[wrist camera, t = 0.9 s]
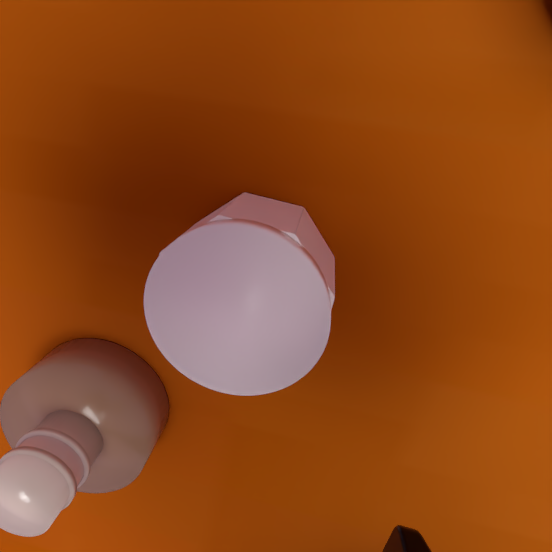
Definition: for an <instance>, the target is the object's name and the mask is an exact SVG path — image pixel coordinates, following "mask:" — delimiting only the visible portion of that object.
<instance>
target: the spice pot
mask: <svg viewBox="0 0 552 552" xmlns="http://www.w3.org/2000/svg"><path fill="white" fill-rule="evenodd" d="M168 416H169V402H168V397H167V393H166V391H165V388H164V386H163V384H162V382H161V380H160V378H159V377H158V376H157V374H156V373H155V371H154V370H153V369H152V368H151V367H150V366H149V365H148V364H147V363H146V362H145V361H144V360H143V359H142V358H140V357H139V356H137V355H136V354H135V353H133V352H132V351H130V350H128V349H126V348H124V347H122V346H120V345H118V344H115V343H112V342H109V341H105V340H100V339H92V338H83V339H75V340H71V341H68V342H65V343H63V344H61V345H59V346H57V347H56V348H55V349H53V350H52V351H51V352H50V353H49V354H47V355H46V356H45V357H44V358H43V359H41V360H40V361H39V362H38V363H37V364H36V365H34V366H33V367H32V368H31V369H30V370H28V371H27V372H26V373H25V374H24V375H23V376H21V377H20V378H19V379H18V380H17V381H15V382H14V383H13V384H12V385H11V386H10V387H9V388H8V390H7V391H6V393H5V394H4V396H3V399H2V401H1V406H0V420H1V426H2V429H3V432H4V434H5V437H6V439H7V441H8V443H9V444H10V446H11V448H12V449H11V450H10V451H8V452H7V453H6V454H5V455H4V456H3V457H2V458H1V459H0V528H1V529H3V530H5V531H7V532H10V533H12V534H16V535H20V536H28V537H30V536H38V535H41V534H43V533H45V532H46V531H47V530H48V529H49V527H50V526H51V524H52V523H53V522H54V520H55V519H56V517H57V516H58V514H59V513H60V511H61V510H62V509H64V508H66V507H67V506H68V505H69V504H70V503H71V501H72V500H73V498H74V497H75V495H76V492H77V491H79V492H86V493H106V492H111V491H115V490H118V489H121V488H123V487H125V486H127V485H128V484H130V483H131V482H132V481H134V480H135V479H136V477H137V476H138V475H139V474H140V472H141V471H142V469H143V467H144V465H145V463H146V461H147V459H148V458H149V456H150V454H151V452H152V450H153V448H154V446H155V445H156V443H157V441H158V439H159V437H160V435H161V433H162V432H163V430H164V428H165V426H166V423H167V420H168Z"/></svg>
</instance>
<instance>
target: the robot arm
mask: <svg viewBox="0 0 552 552" xmlns="http://www.w3.org/2000/svg"><path fill="white" fill-rule="evenodd" d="M383 552H431V550H430V548H429V547H428V545H427V543H426V542H425V540H424V538H423V537H422V535H421V534H420V533H419V532H418V531H417V530H415V529H411V528H408V527H404V526H401V525H398V526H396V527H395V528H394V530H393V531H392V533H391V535H390V537H389V539H388V541H387V543H386V545H385V547H384V549H383Z"/></svg>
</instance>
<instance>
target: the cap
mask: <svg viewBox="0 0 552 552" xmlns="http://www.w3.org/2000/svg"><path fill="white" fill-rule="evenodd" d="M334 299H335V257H334V255H333V254H332V252H331V250H330V249H329V247H328V245H327V244H326V242H325V240H324V239H323V237H322V236H321V234H320V232H319V231H318V229H317V227H316V226H315V224H314V222H313V221H312V219H311V217H310V216H309V214H308V213H307V211H306V209H305V208H303V206H298V205H294V204H290V203H286V202H282V201H278V200H274V199H270V198H266V197H262V196H258V195H254V194H250V193H246V192H243V193H242V194H240V195H239V196H237V197H236V198H234V199H233V200H231V201H229V202H228V203H226V204H225V205H223V206H222V207H220V208H219V209H217V210H215V211H214V212H212V213H211V214H209V215H208V216H206V217H205V218H203V219H201V220H200V221H198V222H197V223H196V224H194V225H193V226H192V227H191V228H189V229H188V230H187V231H186V232H184V233H183V234H182V235H181V236H179V237H178V238H177V239H176V240H174V241H173V242H172V243H171V244H169V245H168V246H167V247H166V248H165V249H163V250H162V251H161V252H160V253H159V257H158V258H157V260H156V261H155V262H154V264H153V266H152V268H151V270H150V272H149V275H148V278H147V281H146V285H145V291H144V312H145V318H146V322H147V326H148V328H149V331H150V334H151V336H152V338H153V340H154V342H155V344H156V345H157V347H158V348H159V350H160V351H161V353H162V354H163V356H164V357H165V358H166V359H167V360H168V361H169V362H170V363H171V364H172V365H173V366H174V367H175V368H176V369H177V370H178V371H179V372H181V373H182V374H183V375H185V376H186V377H188V378H189V379H191V380H193V381H194V382H196V383H198V384H200V385H202V386H204V387H207V388H209V389H212V390H215V391H218V392H222V393H226V394H231V395H241V396H254V395H262V394H267V393H272V392H275V391H278V390H281V389H284V388H286V387H288V386H290V385H292V384H294V383H295V382H297V381H298V380H300V379H301V378H302V377H304V376H305V375H306V374H307V373H308V372H309V371H310V370H311V369H312V368H313V367H314V365H315V364H316V363H317V362H318V360H319V359H320V357H321V355H322V353H323V352H324V349H325V347H326V344H327V342H328V338H329V333H330V325H331V309H332V306H333V302H334Z"/></svg>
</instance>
